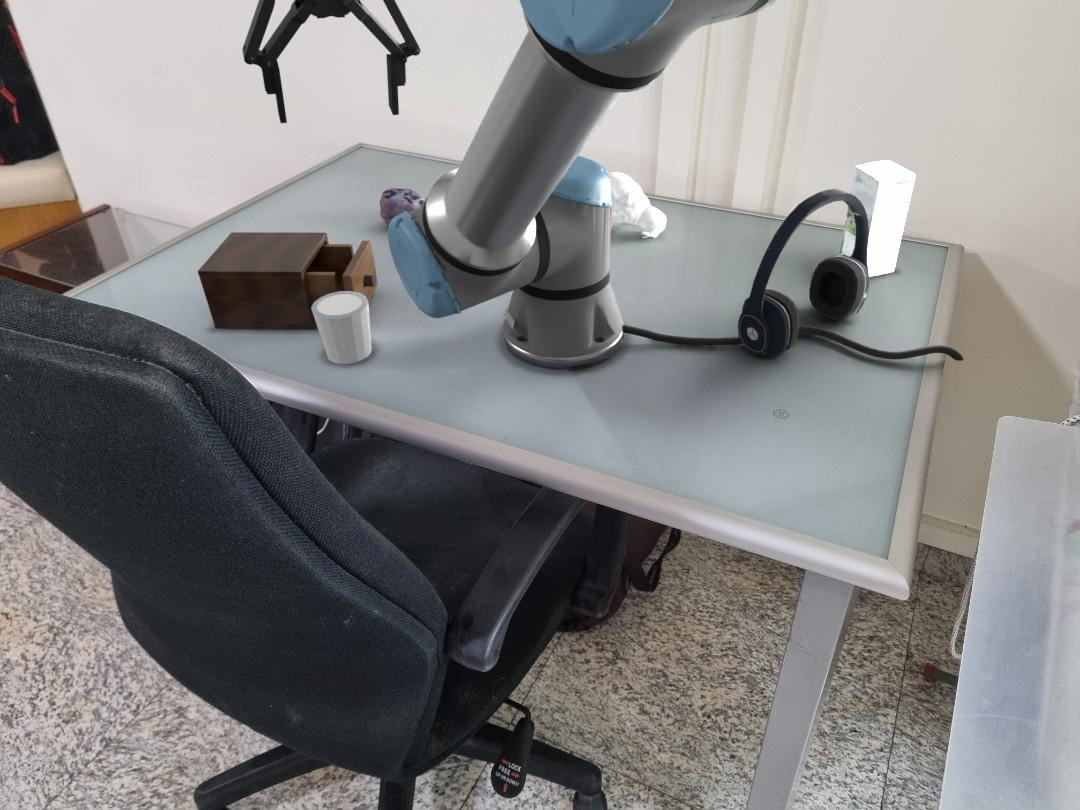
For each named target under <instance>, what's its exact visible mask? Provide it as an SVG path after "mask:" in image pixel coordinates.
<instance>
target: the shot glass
mask: <svg viewBox="0 0 1080 810" xmlns="http://www.w3.org/2000/svg"><path fill="white" fill-rule="evenodd" d="M311 309H312V312H313V315H314V318H315V321H316V324H317V325H316V327H317V330H318V333H319V336H320V339H321V341H322V344H323V348H324V351H325V353H326V356H327V359H328V360H329V361H330V362H332V363H334V364H337V365H350V364H356V363H359V362H361V361H363V360H365V359H367V358H368V357H369V356H370V355H371V352H372V350H373V349H372V346H373V345H372V334H371V321H370V319H371V318H370V307H369V304H368V300H367V298H366V296H364V295H362V294H361V293H358V292H352V291H340V292H335V293H330V294H327V295H325V296H323V297H320V298H319V299H318V300H316V301H315V302H314V303H313V305H312V308H311Z"/></svg>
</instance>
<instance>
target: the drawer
mask: <svg viewBox="0 0 1080 810" xmlns="http://www.w3.org/2000/svg"><path fill="white" fill-rule="evenodd" d="M372 247H373V246H372V241H371V240H362V241H361V242H360V244H359V246H358V248H357V249H356V251H355V253H354V250H353V244H352V243H329V244H323V245H322V247H321V249H320V250H319V252H318V253H317V255H316V256H315V258H314V259H313V261H312V262H311V264H310V266H309V267H308V269H307V270H306V272H305V273H304V278H305V283H306V287H307V292H308V296H309V301H310V305H311V308H312V305H313V303H314V302H315V301H316V300H318V299H319V298H320V297H323V296H325V295H327V294H330V293H335V292H340V291H352V292H358V293H361V294H362V295H364V296H366V298H367V300H368V305H370V302H371V300H372V298H373V295H374V294H375V291H376V290H377V288H378V285H379V282H378V275H377V270H376V265H375V259H374V252H373V248H372ZM312 314H313V312H312ZM313 317H314V315H313Z"/></svg>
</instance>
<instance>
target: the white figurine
mask: <svg viewBox="0 0 1080 810" xmlns="http://www.w3.org/2000/svg"><path fill="white" fill-rule="evenodd" d="M608 174H609V177H610V186H611V200H612V201H613V205H612V209H611V229H612V228H613V226H617V225H622V224H625V225H628V226H632V225H633V226H636V227H639V228H641V229H643V231H641V233H640V235H644V236H642V239H644V238H649V237H651V238H654V239H655V238H657V237H658V236H659V234H660V233H662V232H663V231H664V230H665V228H666V225H667V217H666V214H665V213H664V212H662V210H660V209H658V208H657V207H655V206H653V205H651V203H650V199H648V197H647V195H646V194H645V193H644V192H643V190H642V188H641V186H640V185H639V184H638V183H637V182H635V181H634V179H633V178H632V177H630V176H629V175H628V174H625V173H623V172H621V171H610V172H608Z"/></svg>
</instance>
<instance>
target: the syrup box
mask: <svg viewBox="0 0 1080 810" xmlns="http://www.w3.org/2000/svg"><path fill="white" fill-rule="evenodd" d="M915 180H916V173H914V172H913V171H910V170H908V169H907V168H905V167H903V166H901V165H899V164H897V163H895V162H893V161H891V160H889V159H888V160H887V159H886V160H878V161H877V160H876V161H871V162H867V163H864V164H859V165H855V168H854V172H853V177H852V185H851V188H850V194H852V195H854V196H856V197H857V198H858V199H859V200H860V201H861V203H862V204H863V206H864V208H865V211H866V214H867V219H868V225H869V241H868V254H867V262H868V270H869V278H871V277H875V276H880V275H884V274H889V273H893V272H894V271H895V268H896V263H897V258H898V254H899V249H900V245H901V241H902V236H903V232H904V226H905V223H906V218H907V214H908V210H909V205H910V201H911V197H912V192H913V188H914V185H915V184H914V183H915ZM855 238H856V226H855V219H854V215H853V213H852V211H851V209H850V207H849V206H848V205H847V211H846V216H845V221H844V227H843V233H842V239H841V244H840V248H839V249H840V250H839V254H838V255H846V256H851V255H852V253H853V250H854V247H855Z"/></svg>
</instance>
